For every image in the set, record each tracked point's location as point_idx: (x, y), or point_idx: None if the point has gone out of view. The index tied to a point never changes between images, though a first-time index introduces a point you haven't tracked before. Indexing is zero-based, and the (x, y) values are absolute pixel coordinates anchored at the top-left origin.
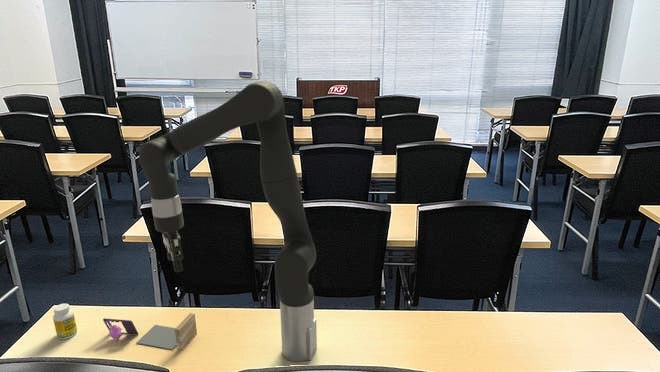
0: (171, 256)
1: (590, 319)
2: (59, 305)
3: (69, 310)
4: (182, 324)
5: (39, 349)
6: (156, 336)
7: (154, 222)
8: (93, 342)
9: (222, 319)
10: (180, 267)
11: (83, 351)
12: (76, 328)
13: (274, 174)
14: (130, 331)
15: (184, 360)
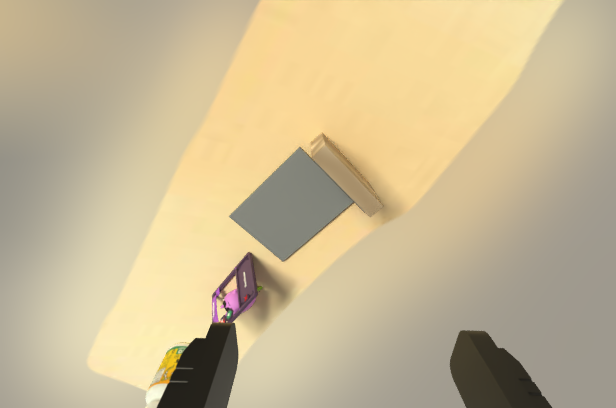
0: (227, 375)
1: None
2: None
3: (158, 396)
4: (361, 193)
5: None
6: (281, 222)
7: None
8: (236, 322)
9: (289, 36)
10: (524, 381)
11: (258, 336)
12: (183, 350)
13: None
14: (244, 271)
15: (406, 186)
